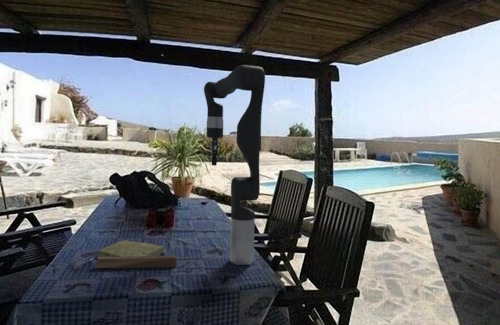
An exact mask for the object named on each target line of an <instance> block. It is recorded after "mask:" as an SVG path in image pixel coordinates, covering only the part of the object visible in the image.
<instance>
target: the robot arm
mask: <svg viewBox="0 0 500 325" xmlns="http://www.w3.org/2000/svg"><path fill="white" fill-rule="evenodd" d="M265 73H266V72H265V70H264V68H263V67H261V66H256V65H247V64H241V65H238V66H237V67H235V68H234V69H233V70H232V71H231V72H230V73H229V74H228V75H227V76H225V77H223V78H221V79H219V80H217V81H207V82H206V83H205V85H204V87H203V93H204V97H205V100H206V102H205V103H206V106H207V108H206V109H207V118H206V131H205V132H206V137H207V138H211V141H210V142H209V145H210V146H209V147H210V152H211V153H210V156H211V166H214V167H215V166H217V164H218V161H217V160H218V156H219V155H218V154H219V146H220V142H219V140H218V139H222V138H224V105H223V104H221V103H217V102H216V101H215V99H226V98H227V97H228V95H231V94H233V93H234V92H235V91H236V90H241V91H248V92H250V91H251V95H250V101H249V103H248V106H247V108H246V110H245V111H244V113H243V114H242V115H241V117H240V118H239V120H238V122H237V125H236V126H237V127H236V144H237V148H238V150H239V151H240V153H241V154H242V156H243V158H244V159H245V161H246V163H247V166H248V169H249V175H250V176H234V177H233V178H231V179H232V180H231V183H230V201H231V202H230V206H231V207H230V235H229V236H230V240H229V242H230V243H229V246H230V247H229V262H230V263H231V264H234V266H241V265H244V266H246V265H252V263H253V262H254V248H255V244H254V243H255V222H256V221H255V220H256V219H255V216H256V214H255V211H254V210H253V209H251V208H248V207H246V206H243V205H242V204H241V202H246V201H247V202H252V201H257V200H258V199H259V197H260V189H261V188H260V185H261V184H260V180H261V179H260V177H261V176H260V153H261V152H260V151H261V139H262V138H261V136H262V110H263V109H262V108H263V100H264V93H265V87H266V86H265V84H266V74H265Z"/></svg>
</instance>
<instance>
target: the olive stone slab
mask: <svg viewBox="0 0 500 325" xmlns="http://www.w3.org/2000/svg"><path fill="white" fill-rule="evenodd" d="M164 252H165V247H164V246H163V245H159V244H154V243H146V242H140V241H130V240H127V239H125V240H122V241H118V242H115V243H113V244H110V245H109V246H106V247H104V248H102V249H101V250H99V251H98V254H97V256H96V257H97V258H96V259H98V257H127V256H160V255H161V254H162V253H164Z"/></svg>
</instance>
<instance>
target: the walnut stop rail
mask: <svg viewBox="0 0 500 325" xmlns="http://www.w3.org/2000/svg"><path fill="white" fill-rule="evenodd" d="M177 260H178V256H177V255H157V256H127V257H98V258H96V270H97V269H98V268H100V269H101V268H110V269H137V268H138V269H139V268H140V269H141V268H142V269H143V268H144V269H145V268H177V265H178V264H177V263H178V261H177ZM100 269H98V270H100ZM101 270H102V269H101Z"/></svg>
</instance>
